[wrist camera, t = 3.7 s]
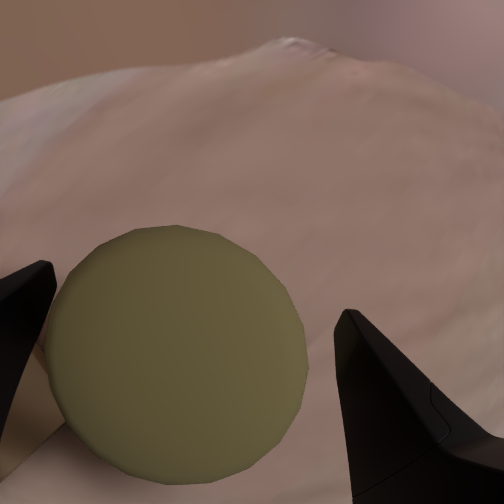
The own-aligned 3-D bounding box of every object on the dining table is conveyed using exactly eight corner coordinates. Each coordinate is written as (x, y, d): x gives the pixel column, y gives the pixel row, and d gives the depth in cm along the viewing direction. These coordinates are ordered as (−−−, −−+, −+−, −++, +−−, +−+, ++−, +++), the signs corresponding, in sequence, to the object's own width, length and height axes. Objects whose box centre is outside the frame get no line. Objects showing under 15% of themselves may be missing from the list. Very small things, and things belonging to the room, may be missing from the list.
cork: (279, 327, 15) (419, 328, 5) (206, 418, 14) (209, 572, 3) (186, 252, 15) (148, 114, 5) (112, 342, 14) (-43, 363, 3)
